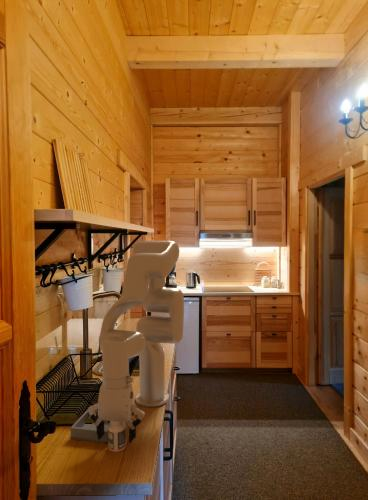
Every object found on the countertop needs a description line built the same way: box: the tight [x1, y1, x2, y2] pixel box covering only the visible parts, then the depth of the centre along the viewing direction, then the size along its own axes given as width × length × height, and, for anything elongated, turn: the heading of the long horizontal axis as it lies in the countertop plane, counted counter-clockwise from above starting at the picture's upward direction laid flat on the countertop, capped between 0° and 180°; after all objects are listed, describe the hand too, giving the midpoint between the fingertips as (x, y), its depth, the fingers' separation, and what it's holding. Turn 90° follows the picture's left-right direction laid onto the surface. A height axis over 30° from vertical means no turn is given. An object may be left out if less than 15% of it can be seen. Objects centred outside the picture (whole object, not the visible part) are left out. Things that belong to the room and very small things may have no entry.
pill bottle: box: [107, 421, 127, 453], centre depth 101 cm, size 5×5×9 cm
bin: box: [70, 409, 110, 444], centre depth 109 cm, size 12×12×4 cm
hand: (116, 438), depth 100 cm, fingers open, 9 cm apart
